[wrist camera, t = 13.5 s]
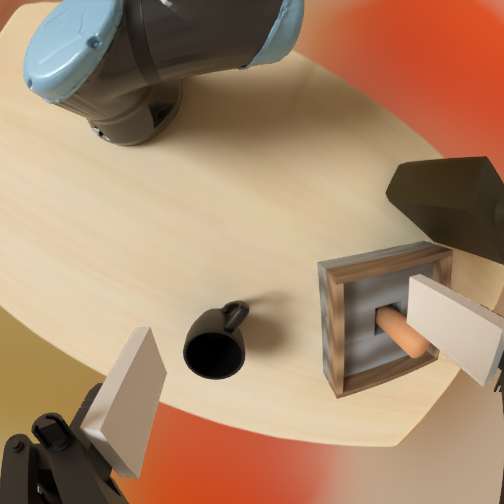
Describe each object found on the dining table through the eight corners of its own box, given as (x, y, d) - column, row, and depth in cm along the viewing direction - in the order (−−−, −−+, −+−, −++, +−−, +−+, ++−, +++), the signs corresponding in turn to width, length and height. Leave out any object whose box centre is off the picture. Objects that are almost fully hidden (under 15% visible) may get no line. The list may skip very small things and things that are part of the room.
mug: (265, 299, 43) (275, 327, 33) (224, 353, 44) (223, 388, 35) (221, 271, 41) (219, 294, 32) (182, 329, 43) (172, 361, 33)
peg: (367, 302, 44) (411, 338, 31) (386, 297, 45) (432, 330, 31) (367, 321, 45) (407, 361, 32) (385, 316, 46) (427, 352, 32)
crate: (317, 262, 42) (336, 277, 34) (424, 241, 43) (452, 249, 35) (323, 372, 47) (337, 398, 39) (416, 341, 48) (437, 359, 40)
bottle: (434, 243, 43) (536, 281, 19) (380, 195, 41) (503, 209, 16) (449, 209, 42) (552, 229, 18) (399, 157, 39) (518, 147, 15)
